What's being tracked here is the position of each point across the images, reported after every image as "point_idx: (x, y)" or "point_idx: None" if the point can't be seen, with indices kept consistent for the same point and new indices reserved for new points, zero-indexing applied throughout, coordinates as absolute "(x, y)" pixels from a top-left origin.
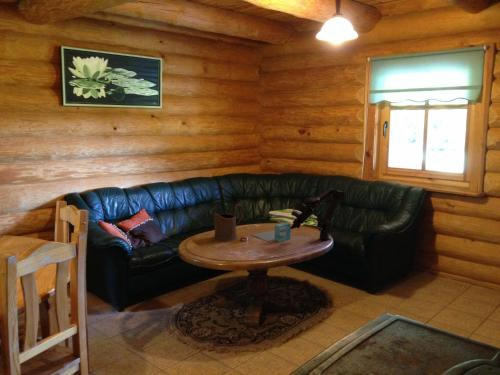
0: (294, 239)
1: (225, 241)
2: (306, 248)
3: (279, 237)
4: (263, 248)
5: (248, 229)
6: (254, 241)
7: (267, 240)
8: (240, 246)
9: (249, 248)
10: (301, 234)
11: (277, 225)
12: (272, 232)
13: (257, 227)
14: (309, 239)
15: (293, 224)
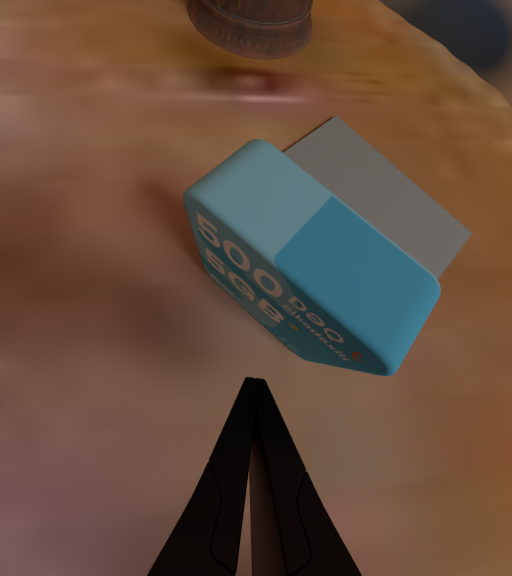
0: (302, 397)
1: (189, 7)
2: (3, 571)
3: (207, 265)
4: (50, 177)
5: (435, 107)
6: (214, 129)
7: None
8: (107, 64)
9: (59, 103)
10: (456, 449)
11: (240, 160)
12: (419, 223)
13: (488, 146)
14: None
15: (177, 534)
